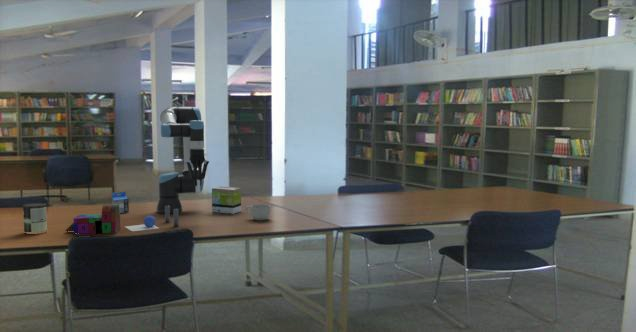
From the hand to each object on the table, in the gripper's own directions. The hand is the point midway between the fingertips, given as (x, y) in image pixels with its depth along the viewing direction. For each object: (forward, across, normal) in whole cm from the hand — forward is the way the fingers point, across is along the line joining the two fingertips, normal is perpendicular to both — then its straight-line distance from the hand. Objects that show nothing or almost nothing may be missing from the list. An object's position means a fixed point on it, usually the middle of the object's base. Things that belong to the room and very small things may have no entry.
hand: (197, 191), depth 301 cm
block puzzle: (+17, -54, +5) cm, 56 cm away
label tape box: (+17, -28, +51) cm, 61 cm away
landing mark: (+16, -31, 0) cm, 35 cm away
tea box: (+17, +26, +19) cm, 36 cm away
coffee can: (+17, -78, +17) cm, 82 cm away
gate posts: (+16, -15, 0) cm, 22 cm away
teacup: (+17, +30, -13) cm, 37 cm away
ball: (+13, -27, -1) cm, 30 cm away
